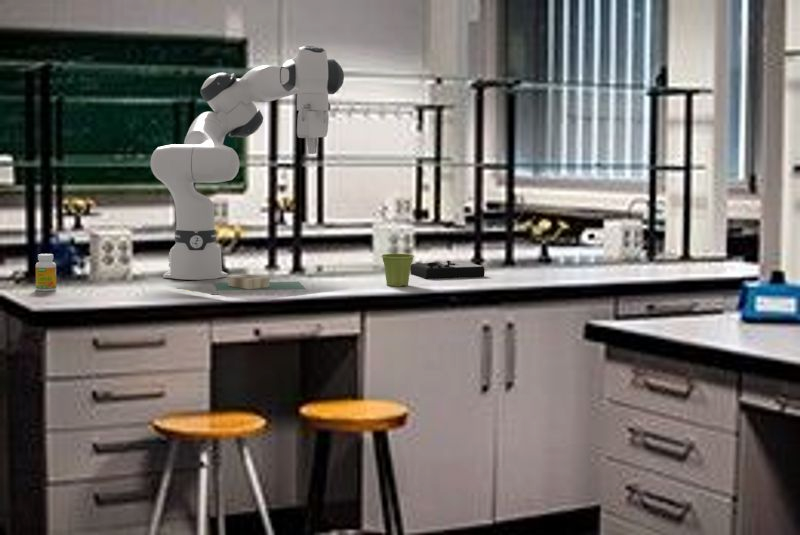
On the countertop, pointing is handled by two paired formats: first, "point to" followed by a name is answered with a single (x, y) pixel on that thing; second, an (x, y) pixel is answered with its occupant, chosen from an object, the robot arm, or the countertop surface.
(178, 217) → the robot arm
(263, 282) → the brown wood block
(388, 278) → the plant pot
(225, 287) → the green mat
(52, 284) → the supplement bottle
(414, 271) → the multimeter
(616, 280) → the countertop surface
